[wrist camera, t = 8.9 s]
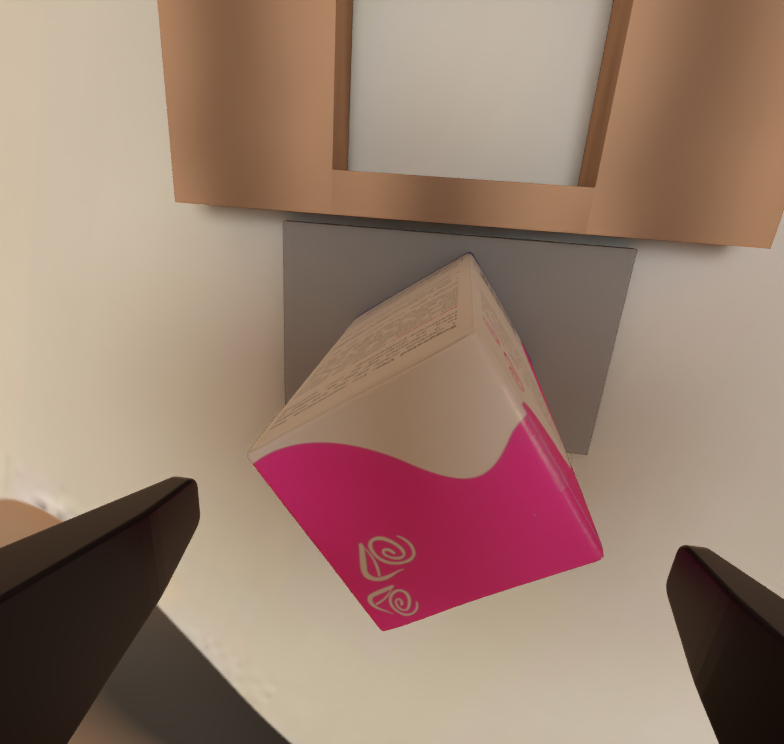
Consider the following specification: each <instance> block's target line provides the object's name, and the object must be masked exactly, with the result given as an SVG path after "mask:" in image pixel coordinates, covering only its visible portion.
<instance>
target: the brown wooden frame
mask: <svg viewBox="0 0 784 744" xmlns="http://www.w3.org/2000/svg"><path fill="white" fill-rule="evenodd" d="M157 1H158V12H159V23H160V35H161V46H162V58H163V69H164V80H165V92H166V103H167V114H168V126H169V137H170V148H171V160H172V171H173V182H174V194H175V202H180V203H192V204H205V205H218V206H231V207H244V208H256V209H269V210H282V211H295V212H308V213H320V214H333V215H346V216H359V217H372V218H384V219H397V220H410V221H423V222H436V223H448V224H461V225H474V226H487V227H500V228H512V229H525V230H538V231H551V232H564V233H576V234H589V235H602V236H615V237H628V238H640V239H653V240H666V241H679V242H692V243H704V244H717V245H730V246H743V247H755V248H768V249H771V246H772V243H773V240H774V237H775V234H776V232H777V229H778V226H779V223H780V220H781V217H782V214H783V211H784V0H614V2H613V7H612V12H611V17H610V23H609V28H608V33H607V38H606V43H605V48H604V54H603V59H602V64H601V69H600V74H599V80H598V85H597V90H596V95H595V100H594V105H593V111H592V116H591V121H590V126H589V131H588V137H587V142H586V147H585V152H584V157H583V163H582V168H581V173H580V178H579V183H578V187H577V186H562V185H548V184H533V183H519V182H504V181H490V180H475V179H461V178H446V177H432V176H417V175H403V174H388V173H374V172H359V171H348V140H349V110H350V79H351V48H352V17H353V0H157Z"/></svg>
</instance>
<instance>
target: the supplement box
mask: <svg viewBox="0 0 784 744" xmlns="http://www.w3.org/2000/svg"><path fill="white" fill-rule="evenodd" d="M247 457H248V459H249V460H250V462H251V463H252V464H253V465H254V466H255V467H256V469H257V470H258V472H259V473H260V474H261V476H262V477H263V478H264V480H265V481H266V482H267V483H268V485H269V486H270V487H271V488H272V490H273V491H274V492H275V494H276V495H277V496H278V498H279V499H280V500H281V502H282V503H283V504H284V505H285V507H286V508H287V509H288V511H289V512H290V513H291V514H292V516H293V517H294V518H295V520H296V521H297V522H298V523H299V525H300V526H301V527H302V529H303V530H304V531H305V532H306V534H307V535H308V536H309V538H310V539H311V540H312V542H313V543H314V544H315V545H316V547H317V548H318V549H319V551H320V552H321V553H322V554H323V556H324V557H325V558H326V559H327V561H328V562H329V563H330V565H331V566H332V567H333V569H334V570H335V571H336V573H337V574H338V575H339V576H340V578H341V579H342V580H343V582H344V583H345V584H346V586H347V587H348V588H349V590H350V591H351V592H352V593H353V595H354V596H355V597H356V599H357V600H358V601H359V603H360V604H361V605H362V606H363V608H364V609H365V610H366V612H367V613H368V614H369V615H370V617H371V618H372V619H373V621H374V622H375V623H376V625H377V626H378V627H379V628H380V629H381V630H382V631H386V630H390V629H393V628H397V627H400V626H403V625H406V624H409V623H412V622H415V621H418V620H421V619H424V618H426V617H429V616H432V615H434V614H437V613H440V612H442V611H445V610H448V609H450V608H453V607H456V606H459V605H462V604H465V603H467V602H470V601H474V600H477V599H480V598H482V597H485V596H489V595H492V594H495V593H498V592H501V591H504V590H507V589H511V588H514V587H517V586H520V585H523V584H526V583H529V582H532V581H536V580H539V579H542V578H545V577H548V576H551V575H555V574H558V573H561V572H564V571H567V570H570V569H574V568H577V567H580V566H583V565H586V564H590V563H593V562H596V561H598V560H601V559H602V558H603V557H604V556H603V548H602V545H601V542H600V539H599V536H598V534H597V531H596V529H595V526H594V523H593V521H592V518H591V516H590V513H589V510H588V508H587V505H586V502H585V500H584V497H583V494H582V492H581V489H580V487H579V484H578V482H577V479H576V476H575V474H574V471H573V469H572V466H571V464H570V461H569V459H568V456H567V454H566V451H565V448H564V446H563V443H562V441H561V438H560V436H559V433H558V431H557V428H556V426H555V423H554V420H553V418H552V415H551V413H550V410H549V408H548V405H547V402H546V399H545V396H544V393H543V391H542V388H541V386H540V383H539V381H538V379H537V376H536V374H535V371H534V368H533V365H532V362H531V359H530V357H529V355H528V353H527V351H526V349H525V347H524V345H523V343H522V341H521V339H520V337H519V335H518V333H517V332H516V330H515V328H514V326H513V324H512V322H511V320H510V319H509V317H508V315H507V313H506V311H505V309H504V307H503V305H502V304H501V302H500V300H499V298H498V297H497V295H496V293H495V291H494V289H493V288H492V286H491V284H490V282H489V281H488V279H487V277H486V275H485V274H484V272H483V270H482V268H481V267H480V265H479V263H478V262H477V260H476V258H475V257H474V255H473V253H472V252H471V251H469V252H468V253H465V254H464V255H462V256H460V257H459V258H457V259H455V260H453V261H452V262H450V263H448V264H446V265H445V266H443V267H441V268H439V269H438V270H436V271H434V272H432V273H431V274H429V275H427V276H425V277H424V278H422V279H420V280H418V281H417V282H415V283H413V284H412V285H410V286H408V287H406V288H405V289H403V290H401V291H400V292H398V293H396V294H394V295H393V296H391V297H389V298H388V299H386V300H384V301H383V302H381V303H379V304H377V305H376V306H374V307H372V308H370V309H369V310H367V311H365V312H363V313H362V314H360V315H359V316H357V317H356V318H355V319H354V321H353V322H352V324H351V325H350V326H349V327H348V328H347V330H346V331H345V332H344V334H343V335H342V336H341V338H340V339H339V340H338V341H337V342H336V344H335V345H334V346H333V347H332V348H331V350H330V351H329V352H328V353H327V354H326V356H325V357H324V358H323V360H322V361H321V362H320V364H319V365H318V366H317V367H316V368H315V369H314V371H313V372H312V373H311V374H310V376H309V377H308V378H307V379H306V381H305V382H304V383H303V384H302V385H301V387H300V388H299V389H298V390H297V392H296V393H295V394H294V395H293V397H292V398H291V399H290V400H289V401H288V403H287V404H286V405H285V407H284V408H283V409H282V410H281V411H280V412H279V414H278V415H277V416H276V417H275V419H274V420H273V421H272V422H271V424H270V425H269V426H268V427H267V428H266V430H265V431H264V432H263V433H262V435H261V436H260V437H259V438H258V440H257V441H256V442H255V443H254V445H253V446H252V447H251V449H250V450H249V451H248V453H247Z"/></svg>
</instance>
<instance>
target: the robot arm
mask: <svg viewBox="0 0 784 744" xmlns="http://www.w3.org/2000/svg"><path fill="white" fill-rule="evenodd" d="M199 519H200V508H199V497H198V487H197V483H196V481H195V480H194V479H191V478H184V477H171V478H169V479H166V480H164V481H162V482H159V483H157V484H154V485H152V486H149V487H147V488H145V489H142V490H140V491H137V492H135V493H132V494H130V495H128V496H125V497H123V498H120V499H118V500H115V501H113V502H111V503H108V504H106V505H103V506H101V507H98V508H96V509H94V510H91V511H89V512H86V513H84V514H81V515H79V516H77V517H74V518H72V519H69V520H67V521H64V522H62V523H60V524H57V525H55V526H52V527H50V528H48V529H45V530H43V531H40V532H38V533H35V534H33V535H30V536H28V537H26V538H23V539H21V540H18V541H16V542H14V543H11V544H9V545H6V546H4V547H1V548H0V744H67V743H68V742H69V740H70V739H71V737H72V735H73V734H74V732H75V731H76V729H77V728H78V726H79V725H80V723H81V722H82V720H83V718H84V717H85V715H86V714H87V712H88V711H89V709H90V708H91V706H92V704H93V703H94V701H95V700H96V698H97V697H98V695H99V694H100V692H101V690H102V689H103V687H104V686H105V684H106V683H107V681H108V680H109V678H110V676H111V675H112V673H113V672H114V670H115V669H116V667H117V666H118V664H119V662H120V661H121V659H122V658H123V656H124V655H125V653H126V652H127V650H128V648H129V647H130V645H131V644H132V642H133V641H134V639H135V638H136V636H137V634H138V633H139V631H140V630H141V628H142V627H143V625H144V623H145V622H146V620H147V619H148V617H149V616H150V614H151V613H152V611H153V609H154V608H155V606H156V605H157V603H158V601H159V600H160V598H161V596H162V595H163V593H164V591H165V589H166V587H167V585H168V583H169V581H170V579H171V577H172V575H173V574H174V572H175V570H176V568H177V566H178V564H179V562H180V560H181V558H182V556H183V554H184V552H185V550H186V548H187V546H188V544H189V542H190V540H191V538H192V536H193V534H194V532H195V530H196V528H197V526H198V523H199ZM666 590H667V595H668V599H669V602H670V606H671V609H672V612H673V615H674V619H675V622H676V625H677V629H678V632H679V635H680V639H681V642H682V645H683V649H684V652H685V655H686V658H687V662H688V665H689V668H690V671H691V674H692V677H693V680H694V683H695V686H696V688H697V691H698V694H699V696H700V699H701V701H702V704H703V706H704V708H705V711H706V713H707V716H708V718H709V721H710V723H711V725H712V728H713V730H714V733H715V735H716V738H717V740H718V742H719V744H784V599H783V598H781V597H780V596H778V595H777V594H775V593H774V592H772V591H771V590H769V589H768V588H766V587H765V586H763V585H762V584H760V583H759V582H757V581H756V580H754V579H753V578H751V577H750V576H748V575H747V574H745V573H744V572H742V571H741V570H739V569H738V568H737V567H735V566H734V565H732V564H731V563H729V562H728V561H726V560H725V559H723V558H722V557H720V556H719V555H717V554H716V553H714V552H713V551H711V550H710V549H707V548H704V547H697V546H689V545H683V546H681V547H680V548H679V549H678V551H677V553H676V556H675V559H674V562H673V564H672V567H671V570H670V573H669V576H668V579H667V584H666Z"/></svg>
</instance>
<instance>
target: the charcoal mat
mask: <svg viewBox="0 0 784 744" xmlns="http://www.w3.org/2000/svg"><path fill="white" fill-rule="evenodd" d="M469 251H471V252H472V253H473V255H474V257H475V258H476V260H477V262H478V263H479V265H480V267H481V268H482V270H483V272H484V274H485V275H486V277H487V279H488V281H489V282H490V284H491V286H492V288H493V289H494V291H495V293H496V295H497V297H498V298H499V300H500V302H501V304H502V305H503V307H504V309H505V311H506V313H507V315H508V317H509V319H510V320H511V322H512V324H513V326H514V328H515V330H516V332H517V333H518V335H519V337H520V339H521V341H522V343H523V345H524V347H525V349H526V351H527V353H528V355H529V357H530V359H531V362H532V365H533V368H534V371H535V374H536V376H537V379H538V381H539V383H540V386H541V388H542V391H543V393H544V396H545V399H546V402H547V405H548V408H549V410H550V413H551V415H552V418H553V420H554V423H555V426H556V428H557V431H558V433H559V436H560V438H561V441H562V443H563V446H564V448H565V451H566V452H567V453H575V454H583V455H587V454H588V449H589V445H590V441H591V437H592V433H593V429H594V425H595V421H596V417H597V413H598V409H599V405H600V401H601V396H602V392H603V388H604V384H605V380H606V376H607V372H608V368H609V364H610V360H611V356H612V352H613V348H614V343H615V339H616V335H617V331H618V327H619V323H620V319H621V315H622V311H623V307H624V303H625V299H626V295H627V290H628V286H629V282H630V278H631V274H632V270H633V266H634V262H635V258H636V254H637V249H634V248H625V247H613V246H600V245H588V244H575V243H563V242H550V241H538V240H525V239H513V238H500V237H488V236H475V235H463V234H450V233H438V232H426V231H413V230H401V229H388V228H376V227H363V226H351V225H338V224H326V223H313V222H301V221H288V220H287V221H283V276H284V355H285V405H286V404H287V403H288V401H289V400H290V399H291V398H292V397H293V395H294V394H295V393H296V392H297V390H298V389H299V388H300V387H301V385H302V384H303V383H304V382H305V381H306V379H307V378H308V377H309V376H310V374H311V373H312V372H313V371H314V369H315V368H316V367H317V366H318V365H319V364H320V362H321V361H322V360H323V358H324V357H325V356H326V354H327V353H328V352H329V351H330V350H331V348H332V347H333V346H334V345H335V344H336V342H337V341H338V340H339V339H340V338H341V336H342V335H343V334H344V332H345V331H346V330H347V328H348V327H349V326H350V325H351V324H352V322H353V321H354V319H355V318H356V317H357V316H359V315H360V314H362V313H363V312H365V311H367V310H369V309H370V308H372V307H374V306H376V305H377V304H379V303H381V302H383V301H384V300H386V299H388V298H389V297H391V296H393V295H394V294H396V293H398V292H400V291H401V290H403V289H405V288H406V287H408V286H410V285H412V284H413V283H415V282H417V281H418V280H420V279H422V278H424V277H425V276H427V275H429V274H431V273H432V272H434V271H436V270H438V269H439V268H441V267H443V266H445V265H446V264H448V263H450V262H452V261H453V260H455V259H457V258H459V257H460V256H462V255H464V254H465V253H468V252H469Z"/></svg>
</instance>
